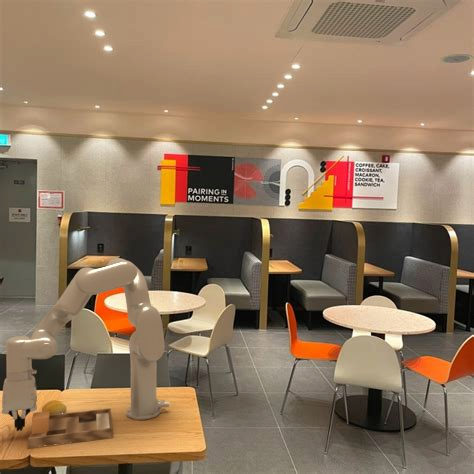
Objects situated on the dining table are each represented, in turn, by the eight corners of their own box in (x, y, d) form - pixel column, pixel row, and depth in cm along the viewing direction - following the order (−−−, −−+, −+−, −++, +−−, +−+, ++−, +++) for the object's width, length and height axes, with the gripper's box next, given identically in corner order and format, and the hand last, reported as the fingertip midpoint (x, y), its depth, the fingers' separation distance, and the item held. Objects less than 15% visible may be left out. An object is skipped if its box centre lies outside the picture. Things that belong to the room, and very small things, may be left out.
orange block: (49, 425, 160) (49, 411, 160) (48, 432, 156) (48, 417, 155) (33, 427, 159) (33, 412, 159) (31, 433, 154) (31, 419, 154)
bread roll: (47, 419, 170) (47, 409, 170) (39, 411, 177) (39, 401, 176) (70, 413, 175) (70, 403, 175) (61, 406, 182) (61, 396, 182)
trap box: (110, 416, 172) (110, 408, 172) (112, 437, 156) (112, 428, 156) (33, 425, 165) (33, 416, 164) (27, 448, 148) (27, 438, 148)
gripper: (44, 369, 160) (45, 421, 161) (-4, 373, 156) (-3, 427, 157) (42, 376, 153) (43, 431, 154) (-9, 380, 149) (-8, 437, 149)
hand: (19, 429), depth 155 cm, fingers closed
